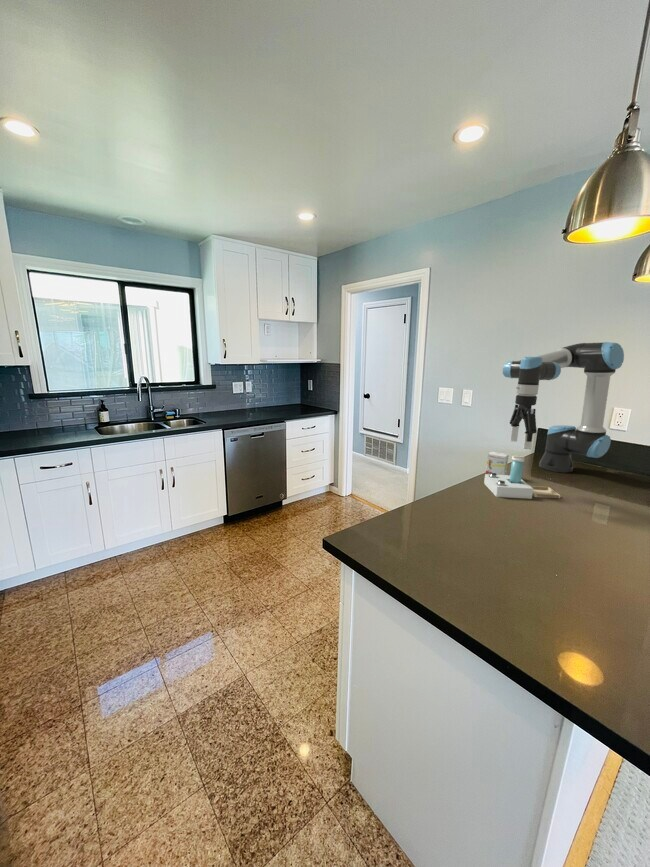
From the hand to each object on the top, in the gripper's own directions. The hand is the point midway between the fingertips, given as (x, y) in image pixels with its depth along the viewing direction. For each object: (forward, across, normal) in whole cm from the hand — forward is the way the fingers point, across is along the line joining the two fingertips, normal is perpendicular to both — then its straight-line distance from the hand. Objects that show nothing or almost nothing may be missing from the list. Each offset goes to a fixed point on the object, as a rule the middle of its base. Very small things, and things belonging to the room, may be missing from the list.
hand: (519, 445), depth 148 cm
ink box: (+22, -20, -1) cm, 29 cm away
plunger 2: (+20, +5, -7) cm, 22 cm away
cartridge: (+21, 0, 0) cm, 21 cm away
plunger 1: (+20, -5, -7) cm, 22 cm away
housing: (+21, 0, -3) cm, 21 cm away
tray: (+21, +1, +11) cm, 24 cm away
